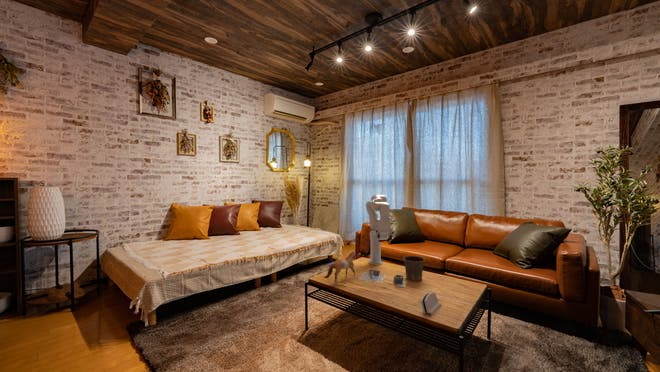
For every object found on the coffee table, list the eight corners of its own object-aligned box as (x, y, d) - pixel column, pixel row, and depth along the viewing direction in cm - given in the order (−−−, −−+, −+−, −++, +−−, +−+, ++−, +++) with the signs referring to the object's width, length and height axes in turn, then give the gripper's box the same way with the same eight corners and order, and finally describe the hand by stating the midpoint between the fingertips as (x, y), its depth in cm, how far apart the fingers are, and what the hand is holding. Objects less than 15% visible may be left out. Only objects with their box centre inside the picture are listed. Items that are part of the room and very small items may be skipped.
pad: (392, 280, 214) (392, 279, 214) (407, 282, 209) (407, 281, 209) (389, 285, 204) (389, 284, 204) (404, 287, 199) (404, 286, 199)
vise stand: (364, 273, 228) (364, 266, 228) (385, 276, 221) (385, 269, 220) (357, 281, 212) (357, 273, 212) (380, 285, 204) (380, 277, 204)
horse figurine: (354, 275, 224) (354, 250, 223) (360, 278, 217) (360, 253, 217) (323, 284, 205) (323, 257, 205) (329, 287, 199) (329, 260, 198)
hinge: (431, 315, 159) (426, 298, 161) (424, 316, 162) (419, 298, 164) (441, 305, 172) (436, 289, 173) (434, 306, 175) (429, 290, 176)
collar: (395, 280, 211) (395, 274, 210) (403, 282, 208) (403, 275, 208) (393, 283, 205) (393, 277, 205) (401, 284, 203) (401, 278, 202)
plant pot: (404, 281, 211) (404, 261, 210) (402, 274, 227) (402, 255, 226) (426, 283, 208) (426, 262, 207) (422, 275, 224) (422, 256, 223)
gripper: (396, 218, 222) (396, 239, 223) (375, 217, 230) (375, 237, 230) (394, 219, 216) (394, 241, 216) (373, 218, 223) (373, 238, 223)
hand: (384, 239), depth 223 cm, fingers open, 9 cm apart
